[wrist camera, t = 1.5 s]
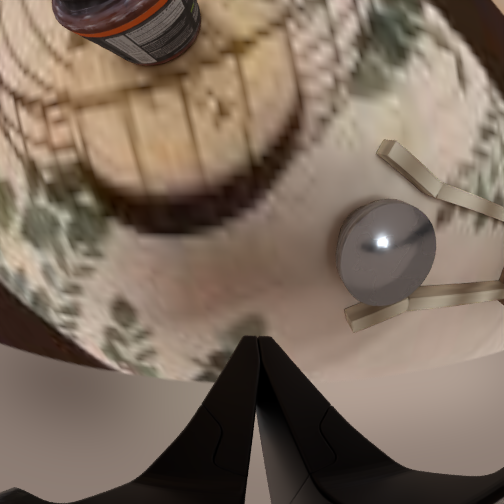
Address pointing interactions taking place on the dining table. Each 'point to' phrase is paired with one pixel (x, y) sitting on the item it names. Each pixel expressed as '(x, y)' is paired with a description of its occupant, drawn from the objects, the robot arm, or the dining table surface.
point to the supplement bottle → (133, 26)
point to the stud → (385, 251)
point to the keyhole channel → (437, 294)
